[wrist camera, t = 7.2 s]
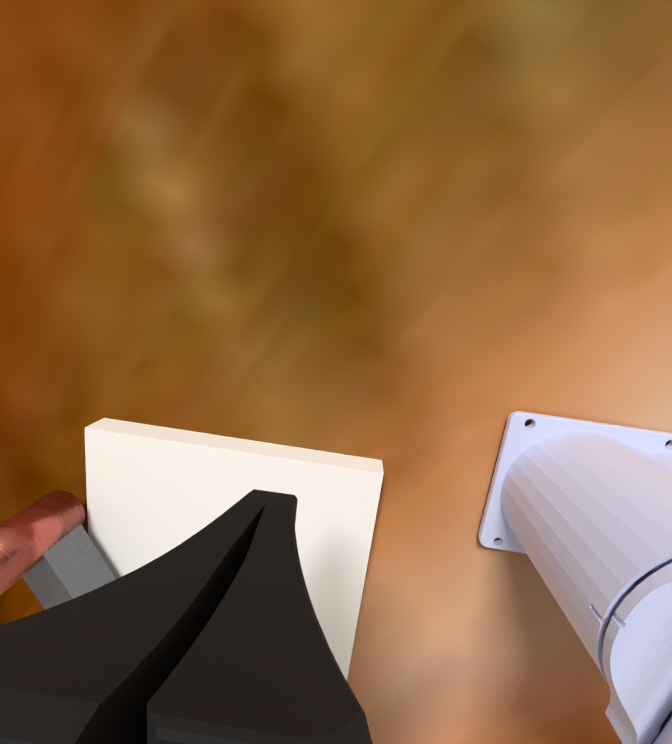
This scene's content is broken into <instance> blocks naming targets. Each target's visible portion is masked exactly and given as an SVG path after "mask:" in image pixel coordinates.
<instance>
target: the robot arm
mask: <svg viewBox="0 0 672 744" xmlns="http://www.w3.org/2000/svg"><path fill="white" fill-rule="evenodd" d="M528 419H532V422H531V424H530V425H528V426H525V422H526V421H527V420H528ZM669 440H670V442H669V444H668V445H666V446H665V444H666V442H667V441H669ZM297 502H298V499H297V497H296V496H295V495H292V494H285V493H278V492H271V491H264V490H257V489H253V490H252V491H251V492H249V493H248V494H247V495H245V496H244V497H243V498H242V499H240V500H239V501H238V502H237V503H235V504H234V505H233V506H232V507H230V508H229V509H228V510H227V511H225V512H224V513H223V514H222V515H220V516H219V517H218V518H216V519H215V520H214V521H212V522H211V523H210V524H208V525H207V526H206V527H204V528H203V529H202V530H200V531H199V532H197V533H196V534H194V535H193V536H191V537H190V538H188V539H187V540H185V541H184V542H183V543H181V544H180V545H178V546H176V547H175V548H173V549H172V550H170V551H168V552H167V553H165V554H163V555H162V556H160V557H158V558H156V559H154V560H153V561H151V562H149V563H147V564H146V565H144V566H142V567H140V568H138V569H136V570H134V571H132V572H130V573H128V574H126V575H124V576H122V577H120V578H118V579H116V580H113V581H111V582H109V583H107V584H105V585H103V586H101V587H99V588H97V589H95V590H92V591H90V592H88V593H86V594H83V595H81V596H78V597H76V598H74V599H71V600H69V601H66V602H64V603H61V604H59V605H56V606H54V607H51V608H48V609H46V610H43V611H41V612H38V613H35V614H33V615H30V616H27V617H24V618H22V619H19V620H16V621H13V622H9V623H6V624H3V625H0V744H372V740H371V736H370V732H369V729H368V725H367V721H366V717H365V713H364V711H363V709H362V707H361V705H360V704H359V702H358V700H357V699H356V697H355V695H354V694H353V692H352V690H351V688H350V686H349V685H348V683H347V681H346V679H345V677H344V675H343V674H342V672H341V670H340V668H339V666H338V664H337V662H336V660H335V657H334V655H333V653H332V651H331V649H330V647H329V645H328V642H327V640H326V638H325V635H324V633H323V631H322V628H321V626H320V624H319V621H318V619H317V616H316V614H315V611H314V608H313V605H312V602H311V600H310V597H309V593H308V590H307V587H306V583H305V580H304V576H303V572H302V568H301V563H300V559H299V554H298V548H297V541H296V533H295V522H296V512H297ZM495 538H500V539H499V540H498V541H494V539H495ZM478 539H479V541H480V543H481V545H483V546H484V547H487V548H493V549H500V550H506V551H512V552H518V553H525V554H527V555H528V557H529V558H530V560H531V562H532V563H533V565H534V566H535V568H536V570H537V571H538V573H539V574H540V576H541V578H542V579H543V581H544V582H545V584H546V586H547V587H548V589H549V590H550V592H551V594H552V595H553V597H554V598H555V600H556V602H557V603H558V605H559V606H560V608H561V610H562V611H563V613H564V614H565V616H566V618H567V619H568V621H569V622H570V624H571V626H572V627H573V629H574V630H575V632H576V634H577V635H578V637H579V638H580V640H581V642H582V643H583V645H584V646H585V648H586V650H587V651H588V653H589V654H590V656H591V658H592V659H593V661H594V662H595V664H596V666H597V667H598V669H599V670H600V672H601V674H602V675H603V677H604V678H605V680H606V682H607V683H608V685H609V688H610V703H609V705H608V707H607V709H606V712H605V714H606V716H607V718H608V719H609V721H610V723H611V725H612V726H613V728H614V730H615V732H616V733H617V735H618V737H619V739H620V740H621V742H622V744H672V433H668V432H661V431H654V430H647V429H640V428H633V427H626V426H620V425H613V424H606V423H599V422H592V421H585V420H578V419H571V418H564V417H557V416H551V415H544V414H537V413H530V412H523V411H515V412H513V413H511V414H510V415H509V417H508V419H507V423H506V427H505V431H504V435H503V439H502V443H501V447H500V451H499V455H498V458H497V462H496V466H495V470H494V474H493V478H492V482H491V486H490V490H489V494H488V498H487V502H486V506H485V510H484V514H483V518H482V521H481V525H480V529H479V533H478Z"/></svg>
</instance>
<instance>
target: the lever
mask: <svg viewBox="0 0 672 744" xmlns="http://www.w3.org/2000/svg"><path fill="white" fill-rule="evenodd" d="M84 521H85V511H84V508H83V506H82V504H81V502H80V501H79V500H78V499H77V498H76V497H75V496H73V495H72V494H70V493H68V492H65V491H52V492H49V493H47V494H46V495H44V496H43V497H41V498H40V499H38V500H37V501H35V502H33V503H32V504H30V505H29V506H27V507H26V508H24V509H23V510H21V511H19V512H18V513H16V514H15V515H13V516H12V517H10V518H9V519H7V520H6V521H4V522H2V523H1V524H0V595H1V594H2V593H3V592H4V591H6V590H7V589H8V588H9V587H10V586H12V585H13V584H14V583H15V582H16V581H17V580H19V579H20V578H21V577H23V579H24V580H25V582H26V583H27V585H28V586H29V587H30V589H31V590H32V592H33V593H34V595H35V596H36V597H37V599H38V600H39V602H40V603H41V605H42V606H43V607H44V609H45V610H46V609H48V608H51V607H54V606H56V605H59V604H61V603H64V602H66V601H69V600H71V599H74V598H76V597H78V596H81V595H83V594H86V593H88V592H90V591H92V590H95V589H97V588H99V587H101V586H103V585H105V584H107V583H109V582H111V581H113V580H116V578H115V576H114V575H113V573H112V571H111V570H110V568H109V567H108V565H107V564H106V562H105V561H104V559H103V557H102V556H101V554H100V553H99V551H98V550H97V548H96V547H95V545H94V544H93V542H92V540H91V539H90V537H89V536H88V534H87V533H86V531H85V530H84V528H83V526H82V525H83V523H84Z"/></svg>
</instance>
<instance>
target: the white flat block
mask: <svg viewBox="0 0 672 744" xmlns="http://www.w3.org/2000/svg"><path fill="white" fill-rule="evenodd" d="M85 454H86V486H87V519H88V536H89V537H90V539H91V540H92V542H93V544H94V545H95V547H96V548H97V550H98V551H99V553H100V554H101V556H102V557H103V559H104V561H105V562H106V564H107V565H108V567H109V568H110V570H111V571H112V573H113V575H114V576H115V578H116V579H118V578H120V577H122V576H124V575H126V574H128V573H130V572H132V571H134V570H136V569H138V568H140V567H142V566H144V565H146V564H147V563H149V562H151V561H153V560H154V559H156V558H158V557H160V556H162V555H163V554H165V553H167V552H168V551H170V550H172V549H173V548H175V547H176V546H178V545H180V544H181V543H183V542H184V541H185V540H187V539H188V538H190V537H191V536H193V535H194V534H196V533H197V532H199V531H200V530H202V529H203V528H204V527H206V526H207V525H208V524H210V523H211V522H212V521H214V520H215V519H216V518H218V517H219V516H220V515H222V514H223V513H224V512H225V511H227V510H228V509H229V508H230V507H232V506H233V505H234V504H235V503H237V502H238V501H239V500H240V499H242V498H243V497H244V496H245V495H247V494H248V493H249V492H251V491H252V490H253V489H257V490H264V491H271V492H278V493H285V494H292V495H295V496H296V497H297V499H298V502H297V512H296V522H295V533H296V541H297V548H298V554H299V559H300V563H301V568H302V572H303V576H304V580H305V583H306V587H307V590H308V593H309V597H310V600H311V602H312V605H313V608H314V611H315V614H316V616H317V619H318V621H319V624H320V626H321V628H322V631H323V633H324V635H325V638H326V640H327V642H328V645H329V647H330V649H331V651H332V653H333V655H334V657H335V660H336V662H337V664H338V666H339V668H340V670H341V672H342V674H343V675H344V677H345V679H346V681H347V677H348V672H349V666H350V660H351V655H352V649H353V643H354V638H355V632H356V627H357V621H358V615H359V610H360V604H361V598H362V593H363V587H364V581H365V576H366V570H367V564H368V559H369V553H370V547H371V542H372V536H373V530H374V525H375V519H376V514H377V508H378V502H379V497H380V491H381V485H382V480H383V474H384V473H383V464H382V460H377V459H371V458H364V457H358V456H351V455H345V454H338V453H331V452H325V451H318V450H312V449H305V448H299V447H292V446H285V445H279V444H272V443H266V442H259V441H253V440H246V439H240V438H233V437H226V436H220V435H213V434H207V433H200V432H194V431H187V430H180V429H174V428H167V427H161V426H154V425H148V424H141V423H135V422H128V421H121V420H115V419H108V418H103V419H101V420H99V421H97V422H95V423H93V424H91V425H89V426H87V427H85Z"/></svg>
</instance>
